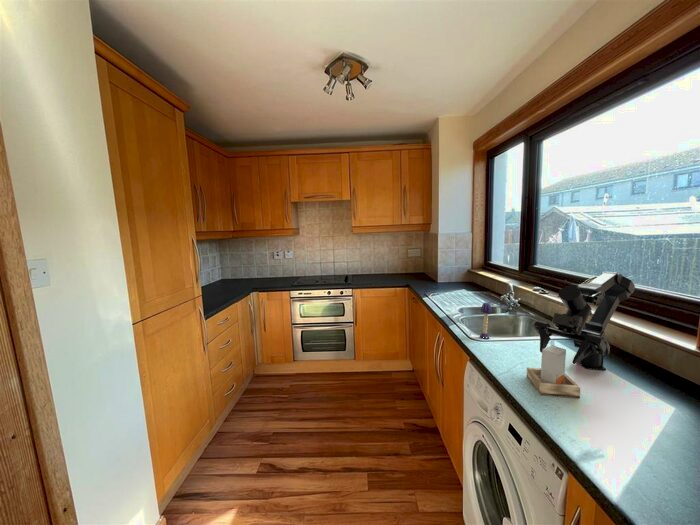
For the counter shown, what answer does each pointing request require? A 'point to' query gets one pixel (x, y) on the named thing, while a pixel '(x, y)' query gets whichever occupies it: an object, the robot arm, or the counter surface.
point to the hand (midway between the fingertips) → (556, 357)
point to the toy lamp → (485, 318)
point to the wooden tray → (553, 385)
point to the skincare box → (553, 365)
